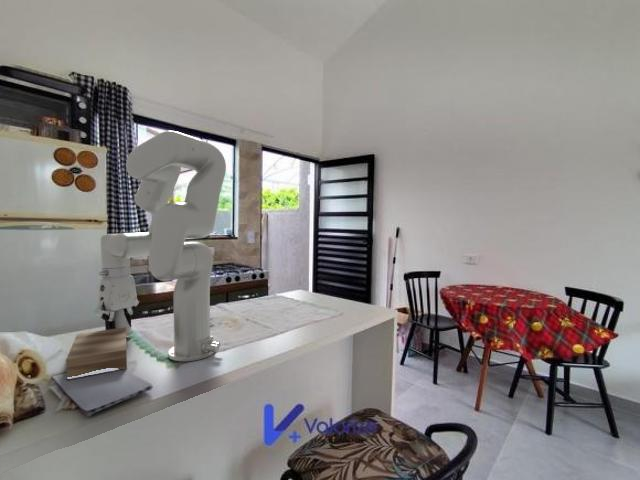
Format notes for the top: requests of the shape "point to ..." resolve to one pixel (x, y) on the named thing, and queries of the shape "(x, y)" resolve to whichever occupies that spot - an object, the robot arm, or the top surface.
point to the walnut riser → (97, 352)
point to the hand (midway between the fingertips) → (118, 329)
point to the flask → (122, 321)
